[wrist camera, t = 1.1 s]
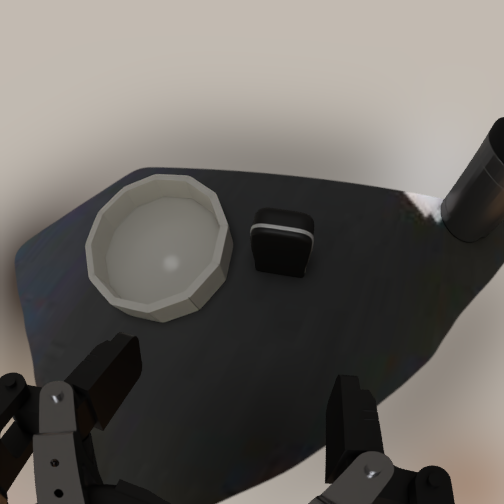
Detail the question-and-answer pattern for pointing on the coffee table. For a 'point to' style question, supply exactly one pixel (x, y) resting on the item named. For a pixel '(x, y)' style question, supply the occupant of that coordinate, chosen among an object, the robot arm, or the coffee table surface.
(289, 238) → the battery charger
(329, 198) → the coffee table surface
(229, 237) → the bowl
